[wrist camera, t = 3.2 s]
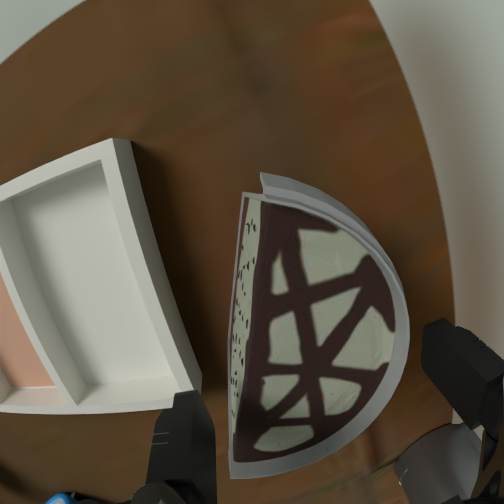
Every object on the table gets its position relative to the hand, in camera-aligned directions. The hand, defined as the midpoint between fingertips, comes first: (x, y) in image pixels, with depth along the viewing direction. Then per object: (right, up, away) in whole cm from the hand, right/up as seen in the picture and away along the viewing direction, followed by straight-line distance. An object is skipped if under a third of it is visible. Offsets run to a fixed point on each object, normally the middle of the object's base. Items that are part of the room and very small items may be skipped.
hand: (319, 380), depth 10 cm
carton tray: (-16, +1, +8) cm, 18 cm away
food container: (0, +3, +9) cm, 10 cm away
